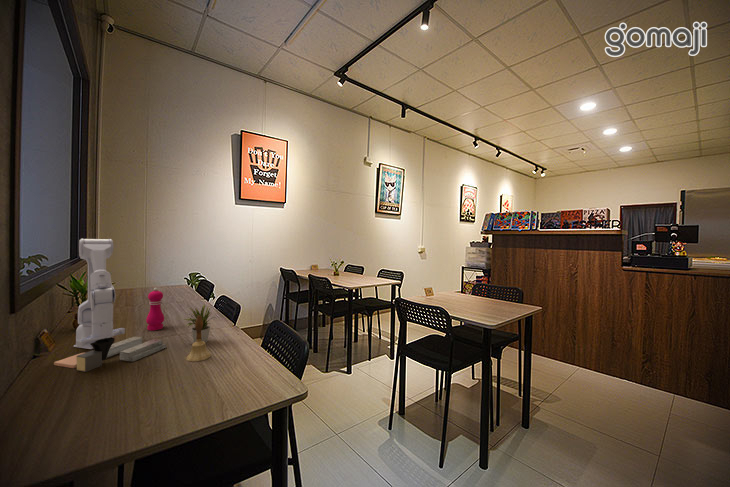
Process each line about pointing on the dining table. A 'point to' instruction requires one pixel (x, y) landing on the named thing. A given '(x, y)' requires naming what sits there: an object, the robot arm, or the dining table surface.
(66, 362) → the pad
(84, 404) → the dining table surface
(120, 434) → the dining table surface
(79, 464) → the dining table surface
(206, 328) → the house plant
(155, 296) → the pepper mill
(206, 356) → the hand bell
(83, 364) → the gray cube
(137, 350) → the parallel gray bars
